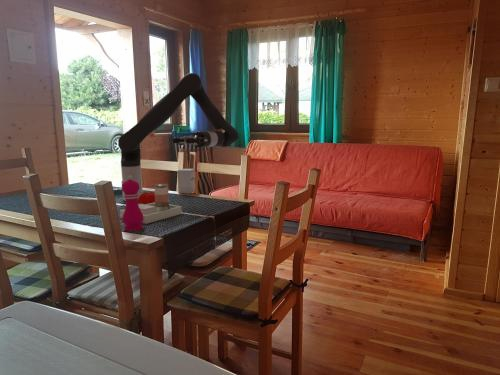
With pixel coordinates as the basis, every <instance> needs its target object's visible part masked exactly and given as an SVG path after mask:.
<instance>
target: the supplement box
mask: <svg viewBox="0 0 500 375" xmlns="http://www.w3.org/2000/svg"><path fill="white" fill-rule="evenodd" d="M177 190H178V191H177V192H178V194H192V193H194V192H195V191H196V178H195V168H181V169H178V170H177Z"/></svg>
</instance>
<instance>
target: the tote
mask: <svg viewBox="0 0 500 375" xmlns="http://www.w3.org/2000/svg"><path fill="white" fill-rule="evenodd" d="M145 205H150V206H155V202H154V203H150V204H145ZM155 208H156V206H155ZM182 210H183V209H182V206H180V205H176V204H175V205H174V204H170V203H169V209H168V210H164V211H160V212H156V213H152V214H148V215H143V218H144V220H143V222H142V223H141V224H146V225H147V224H150V223H153V222H157V221H160V220H164V219H168V218H172V217H175V216H179V215H182V214H183V211H182ZM124 211H125V209H119V214H120V215H119V217H120V218H121V219H122V217H123V214H124Z"/></svg>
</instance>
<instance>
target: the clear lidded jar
mask: <svg viewBox="0 0 500 375" xmlns="http://www.w3.org/2000/svg"><path fill="white" fill-rule="evenodd" d="M153 186H154V193H155V206H156V208H157V212H160V211H164V210H168V209H169V204H170V198H169V196H170V195H169V194H170V193H169V184H168V183H157V184H154V185H153Z"/></svg>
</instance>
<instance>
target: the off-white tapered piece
mask: <svg viewBox="0 0 500 375" xmlns="http://www.w3.org/2000/svg"><path fill="white" fill-rule="evenodd" d="M138 206H139V208H140V210H141V212H142V214H143V215H148V214H152V213H156V212H157V208H155V206H150V205H144V204H138Z"/></svg>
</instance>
